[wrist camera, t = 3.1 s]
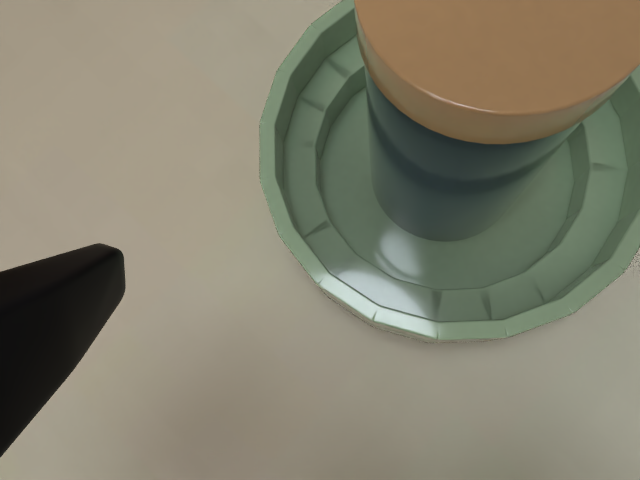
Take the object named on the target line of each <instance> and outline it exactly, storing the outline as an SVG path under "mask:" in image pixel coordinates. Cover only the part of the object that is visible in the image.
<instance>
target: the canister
mask: <svg viewBox="0 0 640 480" xmlns="http://www.w3.org/2000/svg"><path fill="white" fill-rule="evenodd" d="M354 10H355V23H356V34H357V41H358V45H359V49H360V53H361V56H362V59H363V61H364V66H365V83H366V100H367V117H368V134H369V151H370V168H371V181H372V186H373V191H374V194H375V196H376V199H377V201H378V203H379V205H380V206H381V208H382V209H383V211H384V212H385V214H386V215H387V216H388V217H389V218H390V219H391V220H392V221H393V222H394V223H395V224H396V225H398V226H399V227H400V228H402V229H403V230H405V231H407V232H408V233H410V234H413V235H415V236H417V237H420V238H423V239H427V240H432V241H442V242H450V241H459V240H463V239H467V238H470V237H473V236H476V235H478V234H480V233H482V232H484V231H485V230H487V229H488V228H490V227H491V226H493V225H494V224H495V223H496V222H497V221H498V220H499V219H500V218H501V217H502V216H503V215H504V213H505V212H506V211H507V210H508V209H509V207H510V206H511V205H512V204H513V203H514V201H515V200H516V199H517V198H518V197H519V195H520V194H521V193H522V192H523V191H524V189H525V188H526V187H527V186H528V185H529V183H530V182H531V181H532V180H533V179H534V178H535V176H536V175H537V174H538V173H539V172H540V170H541V169H542V168H543V167H544V166H545V164H546V163H547V162H548V161H549V160H550V158H551V157H552V156H553V155H554V154H555V152H556V151H557V150H558V149H559V148H560V146H561V145H562V144H563V143H564V142H565V141H566V139H567V138H568V137H569V136H570V135H571V133H572V132H573V131H574V130H575V129H576V127H577V126H578V125H579V124H580V123H581V121H583V120H584V119H586V118H587V117H589V116H590V115H592V114H593V113H594V112H596V111H597V110H598V109H599V108H600V107H601V106H603V105H604V104H605V103H606V102H607V101H608V100H609V99H610V98H611V97H612V96H613V95H614V94H615V92H616V91H617V90H618V89H619V88H620V87H621V86H622V84H623V83H624V82H625V81H626V80H627V79H628V77H629V76H630V75H631V74H632V73H633V72H634V71H635V69H636V68H637V67H638V66H639V65H640V0H354Z"/></svg>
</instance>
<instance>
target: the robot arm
mask: <svg viewBox="0 0 640 480" xmlns="http://www.w3.org/2000/svg"><path fill="white" fill-rule="evenodd" d="M124 292H125V270H124V257H123V254H122V252H121V251H120V250H119V249H117V248H114V247H111V246H108V245H105V244H100V243H98V244H93V245H90V246H87V247H83V248H80V249H76V250H73V251H70V252H66V253H63V254H59V255H56V256H53V257H49V258H46V259H42V260H39V261H36V262H32V263H29V264H25V265H22V266H18V267H15V268H12V269H8V270H5V271H1V272H0V457H1V456H2V455H3V454H4V452H5V451H6V450H7V449H8V448H9V447H10V445H11V444H12V443H13V442H14V441H15V439H16V438H17V437H18V436H19V435H20V433H21V432H22V431H23V430H24V429H25V427H26V426H27V425H28V424H29V423H30V422H31V420H32V419H33V418H34V417H35V416H36V414H37V413H38V412H39V411H40V410H41V408H42V407H43V406H44V405H45V404H46V402H47V401H48V400H49V399H50V398H51V397H52V395H53V394H54V393H55V392H56V391H57V389H58V388H59V387H60V386H61V385H62V383H63V382H64V381H65V380H66V379H67V377H68V376H69V375H70V374H71V372H72V371H73V370H74V369H75V367H76V366H77V364H78V363H79V362H80V360H81V359H82V357H83V356H84V355H85V353H86V352H87V350H88V349H89V347H90V346H91V344H92V343H93V341H94V340H95V338H96V337H97V335H98V334H99V332H100V331H101V329H102V328H103V326H104V325H105V323H106V322H107V320H108V319H109V317H110V316H111V314H112V313H113V311H114V310H115V309H116V307H117V306H118V304H119V303H120V301H121V299H122V297H123V295H124Z"/></svg>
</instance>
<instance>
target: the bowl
mask: <svg viewBox="0 0 640 480" xmlns="http://www.w3.org/2000/svg"><path fill="white" fill-rule="evenodd" d="M259 137H260V183H261V186H262V189H263V191H264V194H265V197H266V200H267V203H268V206H269V209H270V212H271V214H272V217H273V220H274V223H275V226H276V229H277V232H278V235H279V236H280V238H281V239H282V240H283V242H284V243H285V244H286V246H287V247H288V248H289V249H290V251H291V252H292V253H293V255H294V256H295V257H296V258H297V260H298V261H299V262H300V264H301V265H302V266H303V267H304V269H305V270H306V271H307V273H308V274H309V275H310V276H311V278H312V279H313V280H314V282H315V283H316V284H317V285H318V286H319V288H320V289H321V290H322V291H323V292H324V293H325V294H326V295H327V296H328V297H329V298H330V299H332V300H333V301H335V302H336V303H337V304H339V305H340V306H342V307H343V308H345V309H346V310H348V311H349V312H351V313H352V314H354V315H355V316H357V317H358V318H360V319H361V320H363V321H364V322H366V323H367V324H369V325H370V326H372V327H374V328H377V329H380V330H384V331H387V332H391V333H394V334H398V335H401V336H404V337H408V338H411V339H415V340H418V341H422V342H425V343H457V342H486V341H491V340H497V339H502V338H508V337H511V336H514V335H517V334H520V333H522V332H525V331H528V330H531V329H533V328H536V327H539V326H541V325H544V324H547V323H550V322H552V321H555V320H558V319H561V318H563V317H566V316H569V315H571V314H572V313H575V312H576V311H577V310H578V309H580V308H581V307H582V306H583V305H585V304H586V303H587V302H588V301H589V300H591V299H592V298H593V297H594V296H596V295H597V294H598V293H599V292H601V291H602V290H603V289H604V288H605V287H607V286H608V285H609V284H610V283H612V282H613V281H614V280H615V279H616V278H618V277H619V276H620V275H621V274H623V273H624V271H625V270H626V269H627V267H628V266H629V264H630V262H631V261H632V259H633V257H634V256H635V254H636V252H637V251H638V249H639V247H640V65H639V66H638V67H637V68H636V69H635V71H634V72H633V73H632V74H631V75H630V76H629V77H628V79H627V80H626V81H625V82H624V83H623V84H622V86H621V87H620V88H619V89H618V90H617V91H616V92H615V94H614V95H613V96H612V97H611V98H610V99H609V100H608V101H607V102H606V103H605V104H604V105H603V106H601V107H600V108H599V109H598V110H597V111H596V112H594V113H593V114H592V115H590V116H589V117H587V118H586V119H584V120H583V121H581V123H580V124H579V125H578V126H577V127H576V129H575V130H574V131H573V132H572V133H571V135H570V136H569V137H568V138H567V139H566V141H565V142H564V143H563V144H562V145H561V146H560V148H559V149H558V150H557V151H556V152H555V154H554V155H553V156H552V157H551V158H550V160H549V161H548V162H547V163H546V164H545V166H544V167H543V168H542V169H541V170H540V172H539V173H538V174H537V175H536V176H535V178H534V179H533V180H532V181H531V182H530V183H529V185H528V186H527V187H526V188H525V189H524V191H523V192H522V193H521V194H520V195H519V197H518V198H517V199H516V200H515V201H514V203H513V204H512V205H511V206H510V207H509V209H508V210H507V211H506V212H505V213H504V215H503V216H502V217H501V218H500V219H499V220H498V221H497V222H496V223H495V224H494V225H493V226H491V227H490V228H488V229H487V230H485V231H484V232H482V233H480V234H478V235H476V236H473V237H470V238H467V239H463V240H459V241H450V242H442V241H432V240H427V239H423V238H420V237H417V236H415V235H413V234H410V233H408V232H407V231H405V230H403V229H402V228H400V227H399V226H398V225H396V224H395V223H394V222H393V221H392V220H391V219H390V218H389V217H388V216H387V215H386V214H385V212H384V211H383V209H382V208H381V206H380V205H379V203H378V201H377V199H376V196H375V194H374V191H373V186H372V181H371V168H370V151H369V134H368V117H367V100H366V83H365V66H364V61H363V59H362V56H361V53H360V49H359V45H358V41H357V34H356V23H355V10H354V0H342V1H341V2H340V3H338V4H337V5H336V6H334V7H333V8H332V9H330V10H329V11H328V12H326V13H325V14H324V15H322V16H321V17H320V18H318V19H317V20H316V21H314V22H313V23H312V24H311V26H309V27H308V28H307V30H306V31H305V33H304V34H303V35H302V37H301V38H300V39H299V41H298V42H297V44H296V45H295V46H294V48H293V49H292V50H291V52H290V53H289V55H288V56H287V57H286V59H285V60H284V61H283V63H282V64H281V66H280V67H279V68H278V71H277V72H276V75H275V78H274V81H273V84H272V87H271V90H270V93H269V96H268V99H267V102H266V105H265V108H264V111H263V114H262V117H261V120H260V125H259Z"/></svg>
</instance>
